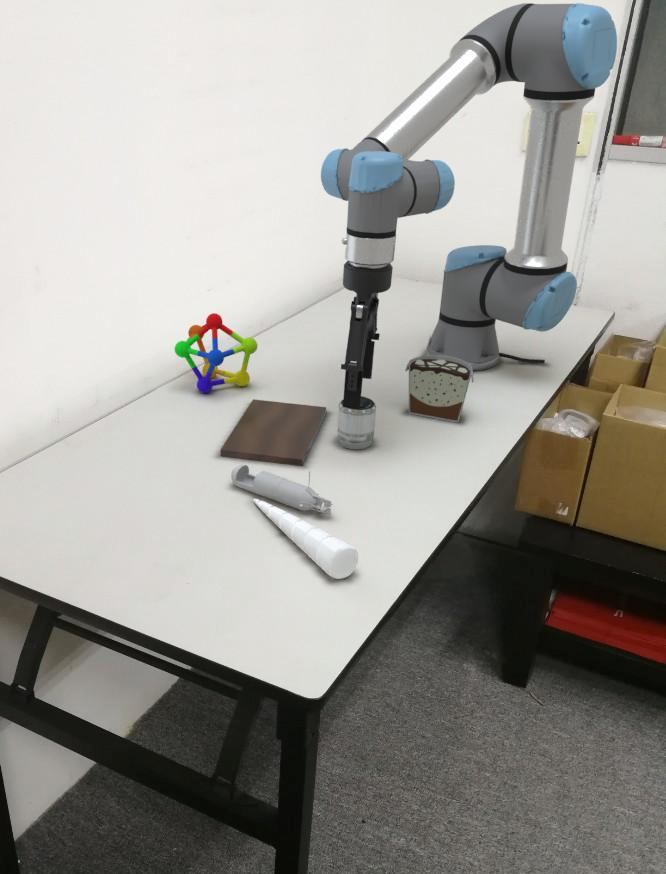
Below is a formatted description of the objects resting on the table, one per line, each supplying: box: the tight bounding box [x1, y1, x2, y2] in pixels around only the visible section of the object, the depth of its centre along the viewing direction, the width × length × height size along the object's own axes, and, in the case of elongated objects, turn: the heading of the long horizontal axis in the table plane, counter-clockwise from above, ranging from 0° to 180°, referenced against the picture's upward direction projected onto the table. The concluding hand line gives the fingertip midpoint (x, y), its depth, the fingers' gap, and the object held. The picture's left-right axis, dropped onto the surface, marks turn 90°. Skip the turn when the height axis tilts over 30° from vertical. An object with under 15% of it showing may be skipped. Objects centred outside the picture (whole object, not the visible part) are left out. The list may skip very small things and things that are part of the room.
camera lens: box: [336, 395, 377, 450], centre depth 146 cm, size 6×6×8 cm
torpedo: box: [230, 464, 333, 515], centre depth 129 cm, size 18×5×7 cm, turn 54°
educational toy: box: [174, 312, 258, 394], centre depth 164 cm, size 16×13×15 cm
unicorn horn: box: [253, 498, 359, 580], centre depth 121 cm, size 5×24×5 cm, turn 27°
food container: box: [405, 354, 474, 423], centre depth 157 cm, size 12×6×10 cm, turn 65°
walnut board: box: [220, 399, 327, 467], centre depth 151 cm, size 14×22×1 cm, turn 166°
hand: (357, 392), depth 143 cm, fingers open, 13 cm apart
